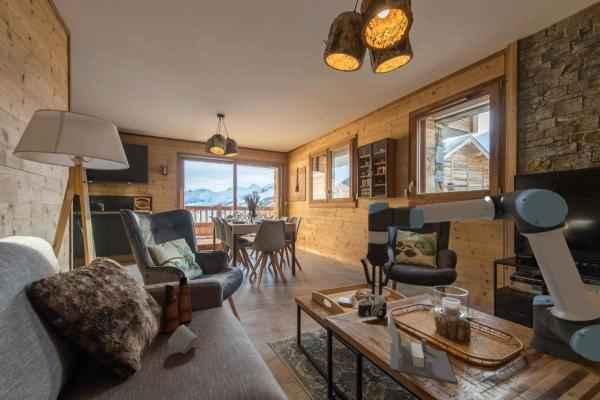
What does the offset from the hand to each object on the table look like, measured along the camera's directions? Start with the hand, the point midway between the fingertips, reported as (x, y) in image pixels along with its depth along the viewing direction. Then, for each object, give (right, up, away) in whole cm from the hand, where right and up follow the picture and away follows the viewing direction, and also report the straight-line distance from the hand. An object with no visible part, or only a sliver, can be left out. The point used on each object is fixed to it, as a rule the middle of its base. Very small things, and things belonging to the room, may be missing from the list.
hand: (376, 303), depth 99 cm
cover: (+6, -10, -2) cm, 12 cm away
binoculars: (-89, -19, +23) cm, 94 cm away
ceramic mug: (-75, -19, +2) cm, 77 cm away
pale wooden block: (+13, -19, -5) cm, 24 cm away
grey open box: (+14, -19, -5) cm, 24 cm away
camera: (+8, -20, +31) cm, 37 cm away
